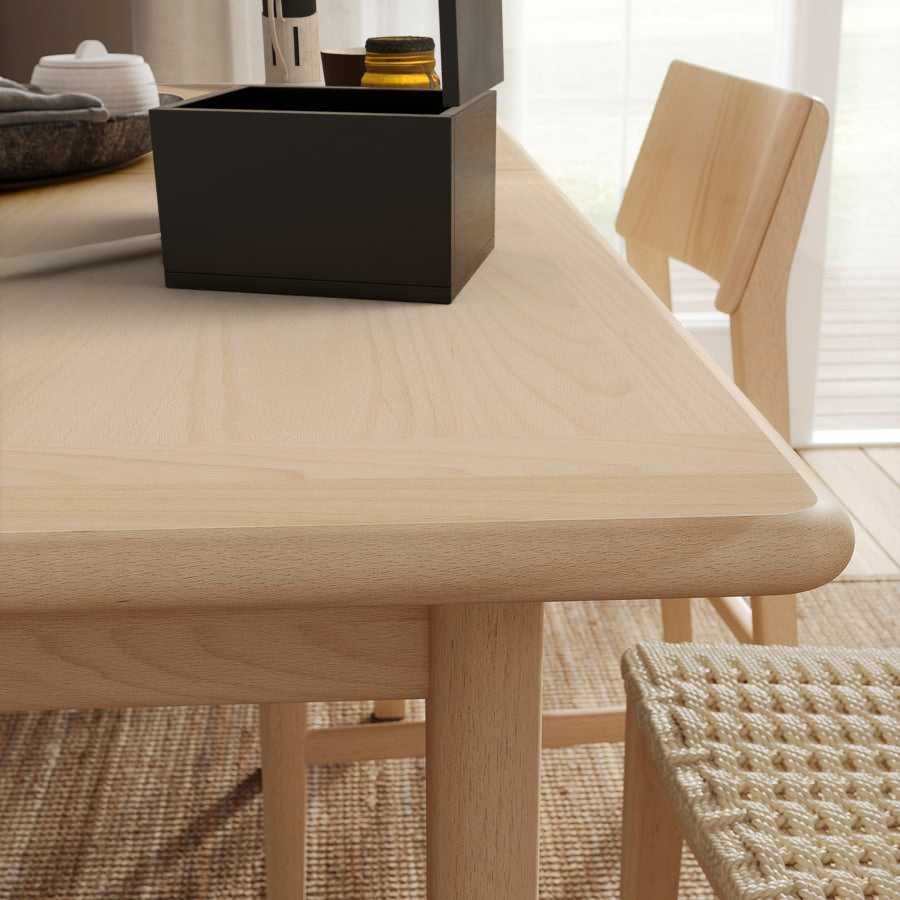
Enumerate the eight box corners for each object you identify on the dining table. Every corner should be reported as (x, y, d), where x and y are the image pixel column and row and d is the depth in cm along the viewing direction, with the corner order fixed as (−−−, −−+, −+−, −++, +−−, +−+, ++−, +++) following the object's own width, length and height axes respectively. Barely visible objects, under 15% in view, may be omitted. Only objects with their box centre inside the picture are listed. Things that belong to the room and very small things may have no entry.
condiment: (352, 206, 89) (347, 40, 84) (366, 186, 97) (362, 32, 92) (448, 208, 89) (448, 40, 84) (454, 187, 96) (455, 33, 92)
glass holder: (330, 87, 171) (326, -24, 165) (306, 97, 158) (301, -22, 152) (272, 86, 172) (266, -24, 166) (244, 96, 159) (236, -22, 153)
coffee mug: (351, 157, 111) (348, 46, 107) (435, 163, 108) (434, 48, 104) (290, 177, 101) (284, 55, 97) (380, 183, 98) (377, 58, 94)
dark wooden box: (165, 287, 67) (147, 109, 63) (251, 236, 80) (241, 84, 76) (451, 304, 64) (451, 117, 60) (494, 247, 76) (497, 89, 73)
